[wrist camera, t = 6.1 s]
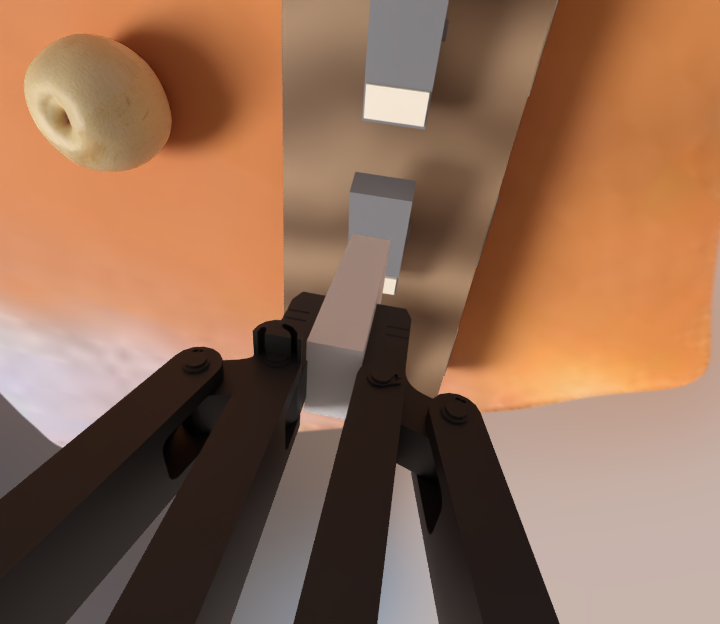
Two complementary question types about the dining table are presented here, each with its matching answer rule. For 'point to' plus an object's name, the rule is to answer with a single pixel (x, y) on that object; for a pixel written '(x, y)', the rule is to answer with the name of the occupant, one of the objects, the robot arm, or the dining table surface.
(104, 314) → the dining table surface
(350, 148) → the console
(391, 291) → the block
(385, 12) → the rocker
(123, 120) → the apple
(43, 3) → the dining table surface
